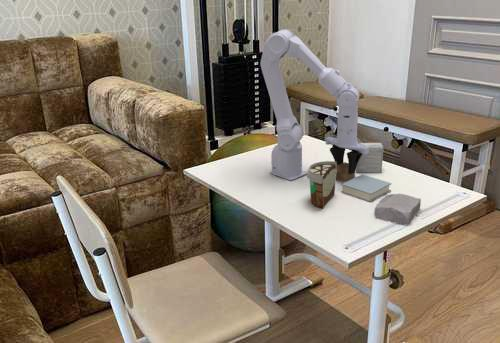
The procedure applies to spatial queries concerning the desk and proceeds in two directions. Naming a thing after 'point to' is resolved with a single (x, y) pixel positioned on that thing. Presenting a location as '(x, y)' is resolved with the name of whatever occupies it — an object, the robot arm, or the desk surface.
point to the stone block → (397, 208)
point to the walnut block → (344, 172)
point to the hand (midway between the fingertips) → (345, 171)
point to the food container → (322, 182)
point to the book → (366, 187)
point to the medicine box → (371, 159)
